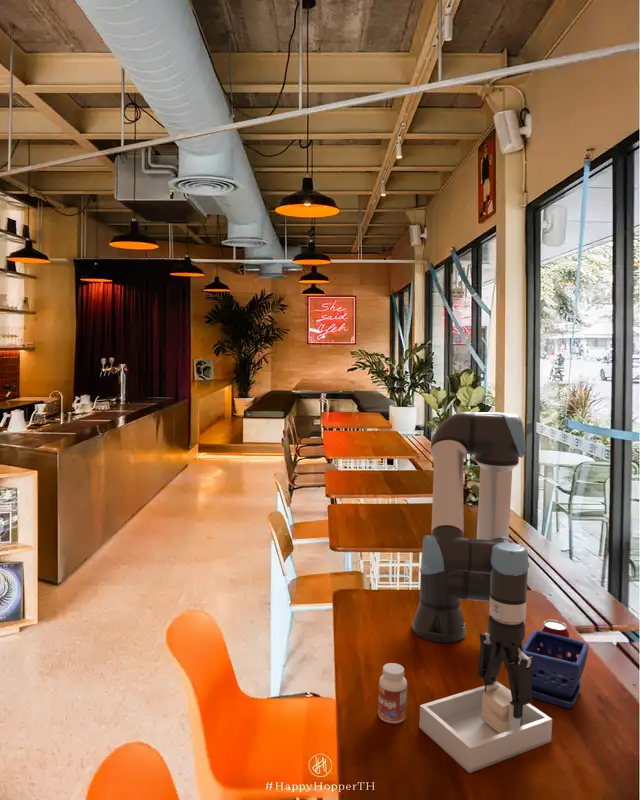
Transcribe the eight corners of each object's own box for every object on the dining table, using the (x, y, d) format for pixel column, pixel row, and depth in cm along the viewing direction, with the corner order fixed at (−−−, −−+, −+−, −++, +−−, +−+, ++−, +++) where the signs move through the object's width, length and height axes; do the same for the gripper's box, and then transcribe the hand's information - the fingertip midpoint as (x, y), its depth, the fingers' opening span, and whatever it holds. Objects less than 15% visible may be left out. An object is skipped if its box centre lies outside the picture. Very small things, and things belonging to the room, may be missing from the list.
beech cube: (501, 712, 136) (503, 686, 136) (522, 727, 131) (523, 700, 130) (481, 718, 133) (482, 692, 133) (501, 734, 128) (503, 706, 128)
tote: (419, 727, 132) (420, 705, 132) (496, 702, 142) (497, 681, 142) (469, 773, 118) (470, 748, 118) (551, 741, 128) (552, 719, 128)
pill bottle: (372, 716, 136) (373, 668, 135) (387, 704, 140) (389, 658, 140) (396, 728, 132) (397, 678, 131) (411, 715, 136) (412, 667, 136)
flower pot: (577, 716, 137) (580, 665, 136) (517, 698, 144) (519, 649, 143) (587, 689, 149) (589, 642, 148) (530, 673, 156) (532, 628, 155)
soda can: (569, 678, 154) (571, 631, 153) (541, 674, 155) (543, 628, 154) (564, 664, 160) (566, 620, 159) (537, 661, 162) (539, 617, 161)
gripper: (463, 603, 137) (459, 703, 139) (528, 639, 120) (522, 752, 122) (488, 598, 141) (484, 695, 142) (555, 632, 124) (549, 742, 126)
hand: (502, 721), depth 132 cm, fingers closed on beech cube, 6 cm apart
